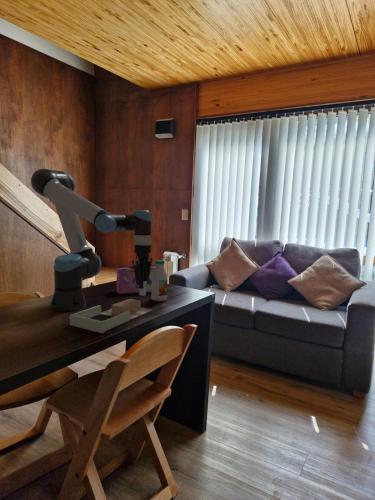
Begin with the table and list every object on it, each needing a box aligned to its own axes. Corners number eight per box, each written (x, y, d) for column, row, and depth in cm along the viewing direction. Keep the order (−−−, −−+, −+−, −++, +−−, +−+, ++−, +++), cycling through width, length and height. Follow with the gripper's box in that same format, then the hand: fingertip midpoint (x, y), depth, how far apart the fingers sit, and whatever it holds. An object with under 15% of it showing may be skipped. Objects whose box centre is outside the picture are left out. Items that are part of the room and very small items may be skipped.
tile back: (129, 307, 158) (129, 298, 157) (140, 309, 155) (140, 300, 154) (121, 310, 152) (121, 301, 152) (132, 312, 150) (132, 303, 149)
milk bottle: (152, 301, 170) (153, 261, 167) (150, 297, 177) (151, 259, 175) (168, 301, 172) (169, 261, 169) (164, 297, 179) (166, 259, 177)
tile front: (120, 310, 152) (120, 301, 151) (131, 312, 149) (131, 303, 149) (111, 314, 147) (111, 304, 146) (122, 316, 144) (122, 307, 143)
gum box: (157, 288, 199) (158, 265, 197) (162, 291, 192) (162, 267, 190) (116, 290, 190) (116, 266, 188) (118, 294, 183) (119, 268, 181)
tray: (98, 314, 147) (98, 305, 147) (129, 321, 140) (130, 311, 139) (69, 324, 133) (69, 314, 133) (102, 333, 126) (102, 322, 125)
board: (124, 305, 162) (124, 304, 162) (152, 310, 155) (152, 309, 155) (99, 314, 147) (99, 313, 147) (129, 321, 140) (129, 320, 140)
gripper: (144, 242, 165) (144, 291, 167) (127, 244, 153) (127, 296, 156) (157, 243, 161) (157, 293, 164) (141, 246, 150) (140, 299, 152)
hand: (142, 294), depth 160 cm, fingers closed
